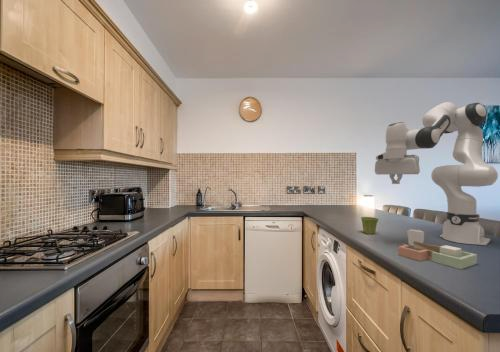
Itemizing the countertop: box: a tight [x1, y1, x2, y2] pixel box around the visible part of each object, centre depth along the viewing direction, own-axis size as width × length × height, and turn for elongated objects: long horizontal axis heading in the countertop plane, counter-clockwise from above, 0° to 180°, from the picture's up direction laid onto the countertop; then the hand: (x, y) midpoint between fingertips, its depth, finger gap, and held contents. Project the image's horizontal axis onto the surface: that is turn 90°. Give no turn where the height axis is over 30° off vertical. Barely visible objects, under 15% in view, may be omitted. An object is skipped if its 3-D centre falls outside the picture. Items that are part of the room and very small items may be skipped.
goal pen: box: [430, 250, 478, 270], centre depth 92 cm, size 12×9×4 cm
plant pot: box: [360, 216, 379, 235], centre depth 139 cm, size 9×9×9 cm
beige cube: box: [406, 228, 425, 247], centre depth 115 cm, size 7×7×7 cm
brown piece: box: [400, 241, 441, 261], centre depth 101 cm, size 10×12×4 cm
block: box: [439, 244, 463, 258], centre depth 92 cm, size 5×5×6 cm
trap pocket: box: [397, 244, 428, 262], centre depth 97 cm, size 5×8×4 cm, turn 27°
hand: (395, 183), depth 118 cm, fingers closed
